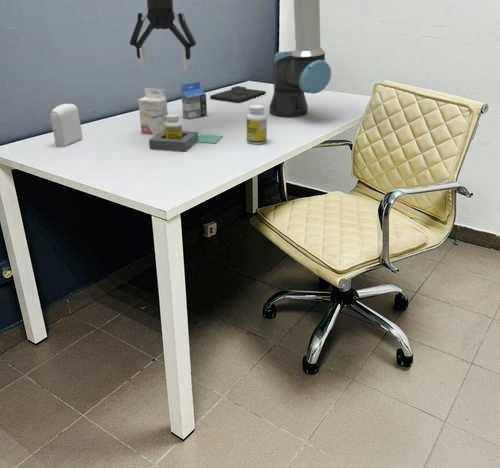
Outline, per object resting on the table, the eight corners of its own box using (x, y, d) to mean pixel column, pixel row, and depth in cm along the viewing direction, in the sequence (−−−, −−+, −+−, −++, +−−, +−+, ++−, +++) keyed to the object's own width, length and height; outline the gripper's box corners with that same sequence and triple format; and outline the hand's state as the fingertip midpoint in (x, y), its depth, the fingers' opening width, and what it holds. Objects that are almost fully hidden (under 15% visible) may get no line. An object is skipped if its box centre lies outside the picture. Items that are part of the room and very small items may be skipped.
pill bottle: (243, 140, 167) (243, 105, 162) (261, 138, 170) (262, 103, 164) (251, 145, 162) (251, 109, 157) (269, 143, 164) (270, 107, 159)
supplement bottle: (182, 142, 166) (180, 112, 162) (184, 146, 162) (181, 116, 157) (165, 143, 165) (163, 113, 161) (167, 148, 161) (164, 117, 156)
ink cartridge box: (140, 133, 176) (136, 90, 169) (148, 129, 180) (143, 87, 173) (163, 135, 173) (159, 91, 167) (169, 131, 177) (166, 88, 171)
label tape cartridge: (188, 119, 192) (186, 86, 186) (182, 117, 195) (180, 84, 189) (207, 115, 197) (205, 83, 192) (201, 114, 200) (199, 81, 194)
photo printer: (64, 147, 162) (57, 108, 156) (53, 146, 164) (46, 107, 158) (84, 138, 171) (79, 101, 165) (74, 137, 172) (68, 100, 166)
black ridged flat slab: (237, 92, 239) (210, 100, 224) (237, 86, 238) (210, 93, 222) (265, 95, 231) (239, 104, 216) (265, 89, 230) (239, 97, 214)
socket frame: (198, 140, 167) (198, 131, 166) (185, 151, 157) (185, 142, 156) (164, 138, 170) (163, 129, 169) (149, 149, 160) (148, 139, 158)
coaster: (222, 136, 171) (222, 135, 171) (215, 143, 164) (215, 142, 164) (200, 135, 173) (200, 134, 173) (192, 142, 166) (192, 141, 166)
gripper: (203, -6, 152) (206, 68, 161) (123, -6, 154) (130, 67, 164) (197, -5, 145) (201, 72, 154) (114, -5, 148) (122, 70, 157)
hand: (164, 69), depth 159 cm, fingers open, 13 cm apart
